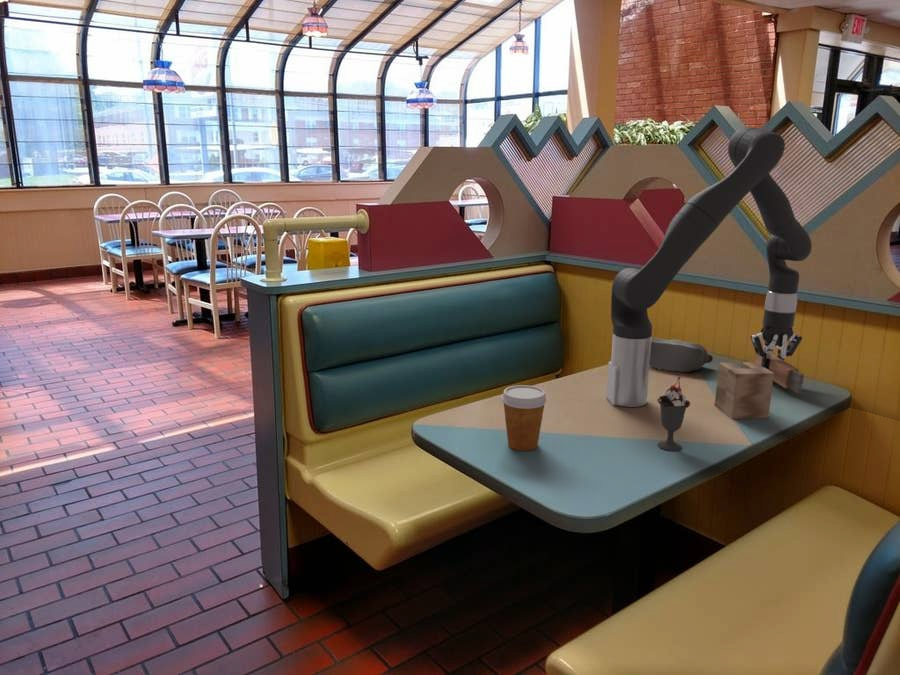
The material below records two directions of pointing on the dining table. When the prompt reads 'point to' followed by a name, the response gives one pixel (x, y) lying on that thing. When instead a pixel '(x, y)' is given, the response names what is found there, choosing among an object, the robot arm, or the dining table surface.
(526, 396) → the disposable coffee cup
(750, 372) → the slotted tan block
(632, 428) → the dining table surface
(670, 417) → the sundae
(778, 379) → the bed rail
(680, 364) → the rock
